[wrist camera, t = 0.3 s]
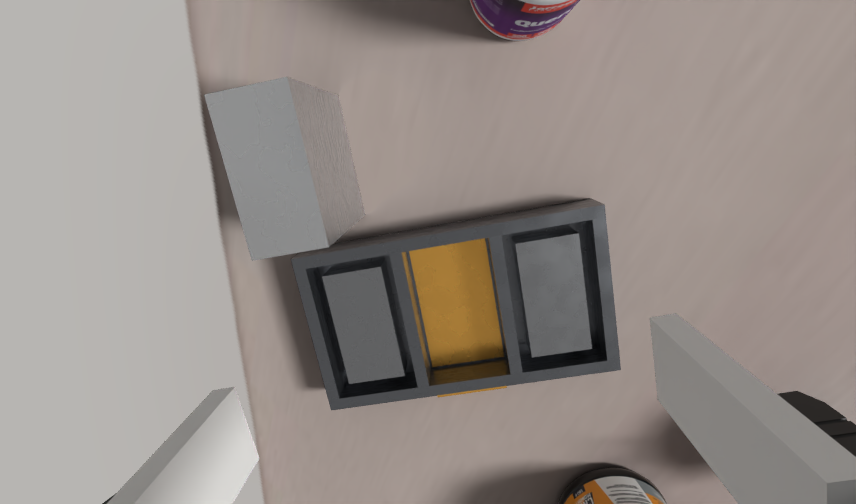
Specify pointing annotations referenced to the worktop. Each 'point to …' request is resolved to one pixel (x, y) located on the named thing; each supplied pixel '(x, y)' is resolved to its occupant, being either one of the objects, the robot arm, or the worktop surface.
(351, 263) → the rack
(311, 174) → the grey rectangular block
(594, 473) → the supplement container
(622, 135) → the worktop surface
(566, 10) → the pill bottle
